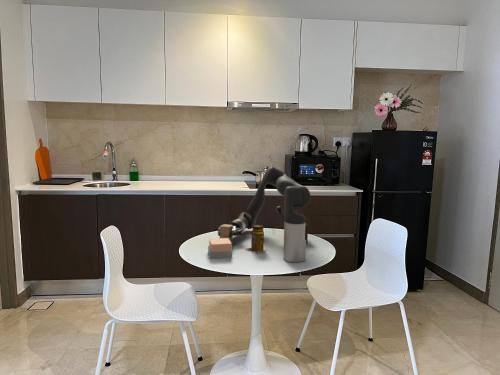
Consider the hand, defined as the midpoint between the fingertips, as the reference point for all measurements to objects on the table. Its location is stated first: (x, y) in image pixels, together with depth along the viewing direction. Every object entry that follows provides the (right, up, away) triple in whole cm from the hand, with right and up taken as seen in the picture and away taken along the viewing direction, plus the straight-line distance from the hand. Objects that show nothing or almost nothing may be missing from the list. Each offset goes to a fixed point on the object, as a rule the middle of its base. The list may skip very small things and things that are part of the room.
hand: (224, 234), depth 189 cm
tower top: (-1, -5, -13) cm, 14 cm away
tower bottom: (-1, -8, -12) cm, 14 cm away
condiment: (+15, -7, -4) cm, 17 cm away
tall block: (+1, -6, +3) cm, 7 cm away
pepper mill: (+34, -5, +14) cm, 37 cm away
